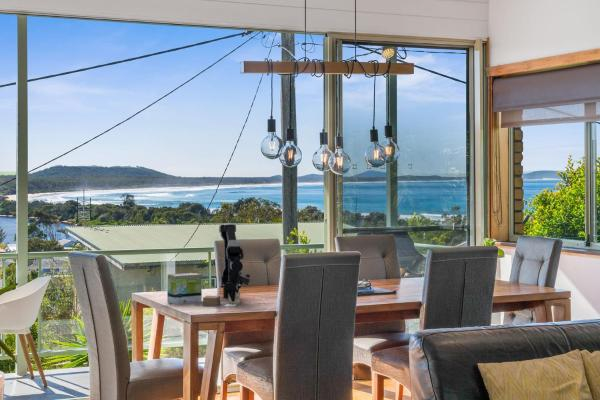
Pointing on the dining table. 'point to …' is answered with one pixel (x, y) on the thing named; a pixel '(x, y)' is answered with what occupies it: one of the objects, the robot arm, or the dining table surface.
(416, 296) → the dining table surface
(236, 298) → the grey green cube
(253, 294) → the dining table surface
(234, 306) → the build mat
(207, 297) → the walnut block
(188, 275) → the tea box
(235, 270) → the robot arm
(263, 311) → the dining table surface
